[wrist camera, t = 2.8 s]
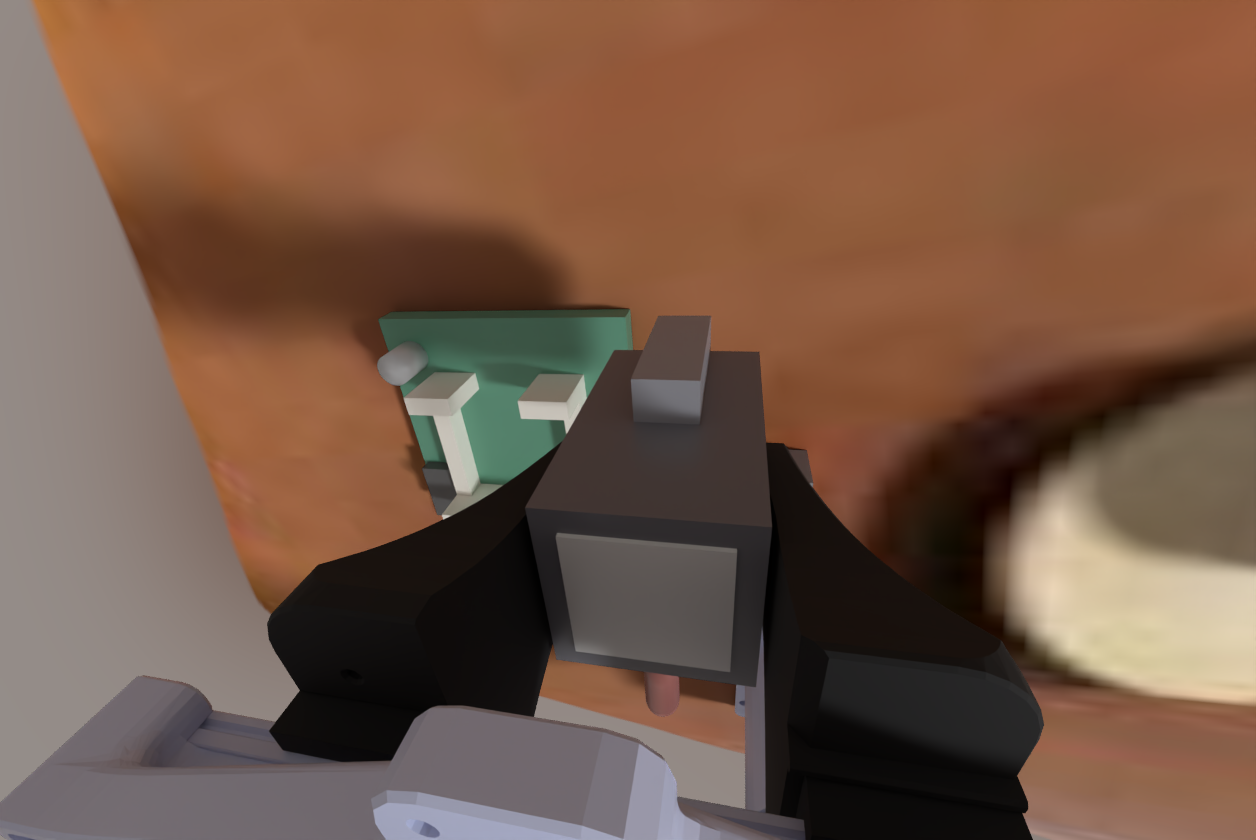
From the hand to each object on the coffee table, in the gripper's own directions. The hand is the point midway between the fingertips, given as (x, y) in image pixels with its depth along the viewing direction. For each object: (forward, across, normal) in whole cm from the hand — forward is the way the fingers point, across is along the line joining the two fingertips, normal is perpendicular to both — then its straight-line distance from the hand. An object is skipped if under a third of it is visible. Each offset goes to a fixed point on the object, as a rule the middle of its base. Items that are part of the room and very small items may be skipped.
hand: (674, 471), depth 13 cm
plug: (+3, 0, 0) cm, 3 cm away
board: (+9, +8, +5) cm, 13 cm away
